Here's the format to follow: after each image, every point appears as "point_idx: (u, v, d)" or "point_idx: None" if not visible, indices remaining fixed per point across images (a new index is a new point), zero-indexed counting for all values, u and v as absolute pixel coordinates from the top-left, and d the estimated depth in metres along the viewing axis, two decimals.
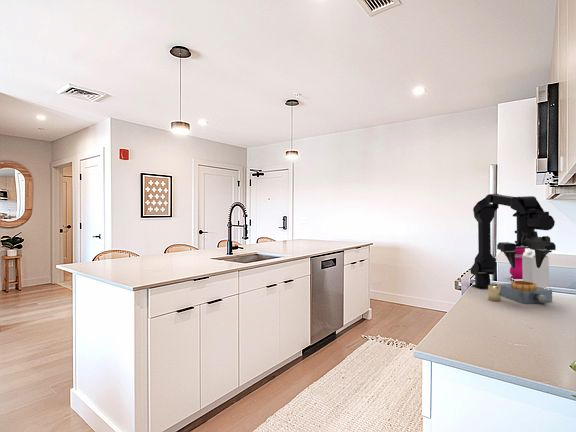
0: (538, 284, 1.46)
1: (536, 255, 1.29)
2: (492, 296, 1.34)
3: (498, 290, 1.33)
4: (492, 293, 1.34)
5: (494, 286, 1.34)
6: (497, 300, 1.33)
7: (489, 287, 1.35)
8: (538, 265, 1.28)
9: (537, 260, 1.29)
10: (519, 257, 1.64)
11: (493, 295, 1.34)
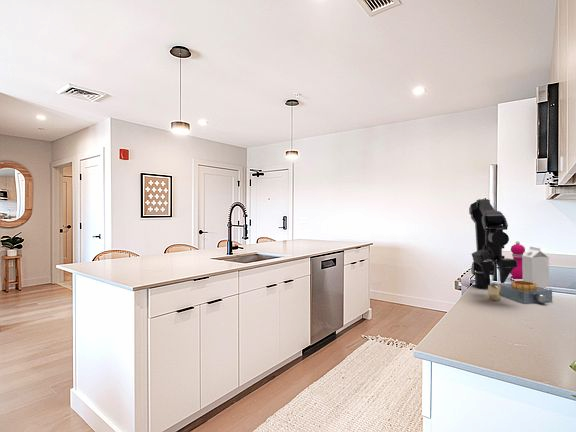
0: (538, 284, 1.46)
1: None
2: (492, 296, 1.34)
3: (498, 290, 1.33)
4: (492, 293, 1.34)
5: (494, 286, 1.34)
6: (497, 300, 1.33)
7: (489, 287, 1.35)
8: None
9: None
10: (519, 257, 1.64)
11: (493, 295, 1.34)
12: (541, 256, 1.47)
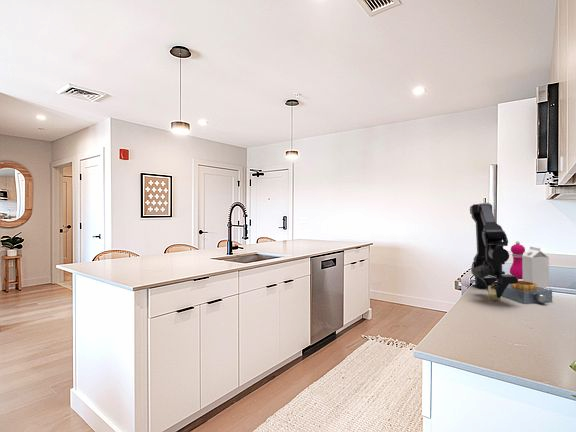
0: (538, 284, 1.46)
1: None
2: (492, 296, 1.34)
3: None
4: (492, 293, 1.34)
5: (494, 286, 1.34)
6: (497, 300, 1.33)
7: (489, 287, 1.35)
8: None
9: None
10: (519, 257, 1.64)
11: (493, 295, 1.34)
12: (541, 256, 1.47)
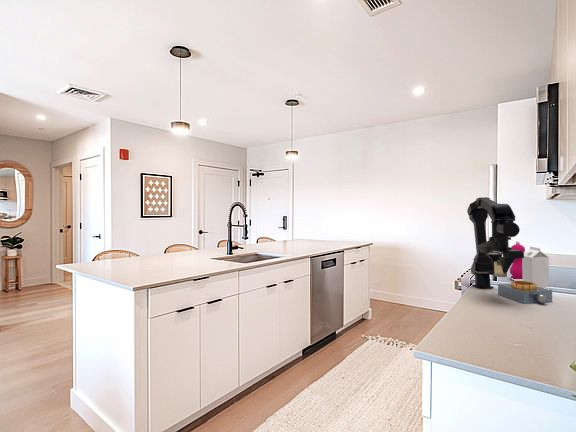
0: (538, 284, 1.46)
1: None
2: (498, 272, 1.34)
3: None
4: (498, 269, 1.34)
5: (500, 262, 1.34)
6: (503, 276, 1.33)
7: (495, 263, 1.35)
8: None
9: None
10: None
11: (499, 270, 1.34)
12: (541, 256, 1.47)
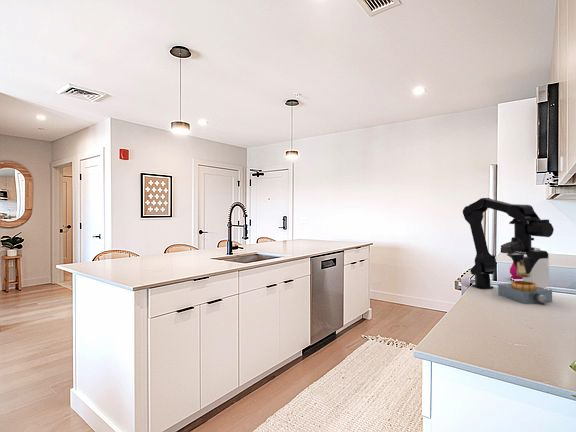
0: (538, 284, 1.46)
1: None
2: (521, 272, 1.35)
3: None
4: (522, 269, 1.35)
5: (523, 262, 1.35)
6: (526, 276, 1.34)
7: (518, 263, 1.36)
8: None
9: None
10: None
11: (522, 270, 1.35)
12: None
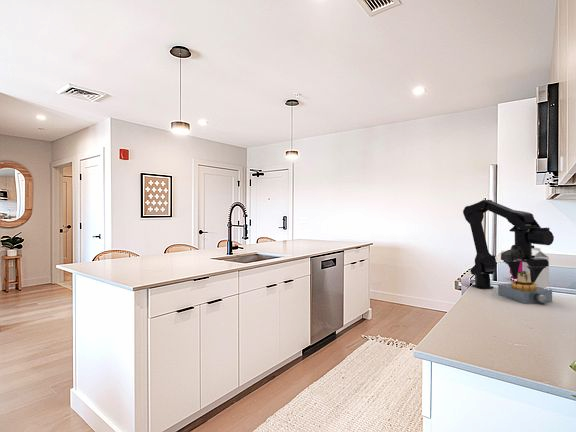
0: (538, 284, 1.46)
1: None
2: (521, 283, 1.35)
3: (528, 277, 1.34)
4: (522, 281, 1.35)
5: (523, 273, 1.35)
6: None
7: (518, 274, 1.36)
8: None
9: None
10: None
11: (523, 282, 1.35)
12: (541, 256, 1.47)
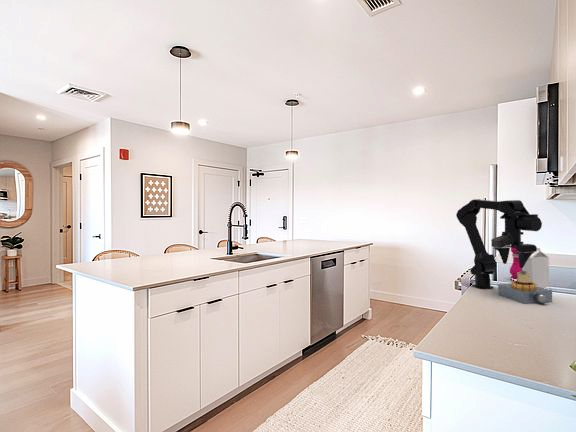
0: (538, 284, 1.46)
1: None
2: (521, 283, 1.35)
3: (528, 277, 1.34)
4: (522, 281, 1.35)
5: (523, 273, 1.35)
6: None
7: (518, 274, 1.36)
8: None
9: None
10: None
11: (523, 282, 1.35)
12: (541, 256, 1.47)
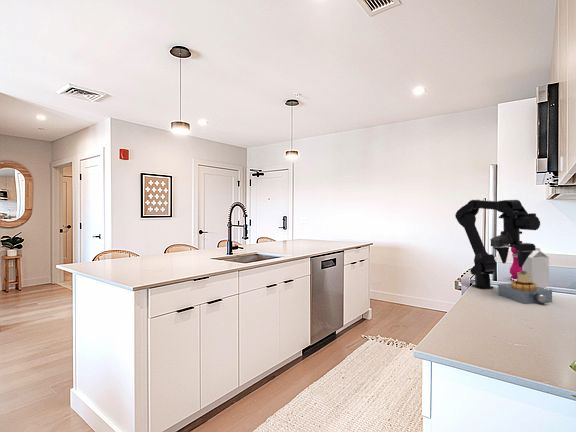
0: (538, 284, 1.46)
1: None
2: (521, 283, 1.35)
3: (528, 277, 1.34)
4: (522, 281, 1.35)
5: (523, 273, 1.35)
6: None
7: (518, 274, 1.36)
8: None
9: None
10: None
11: (523, 282, 1.35)
12: (541, 256, 1.47)
